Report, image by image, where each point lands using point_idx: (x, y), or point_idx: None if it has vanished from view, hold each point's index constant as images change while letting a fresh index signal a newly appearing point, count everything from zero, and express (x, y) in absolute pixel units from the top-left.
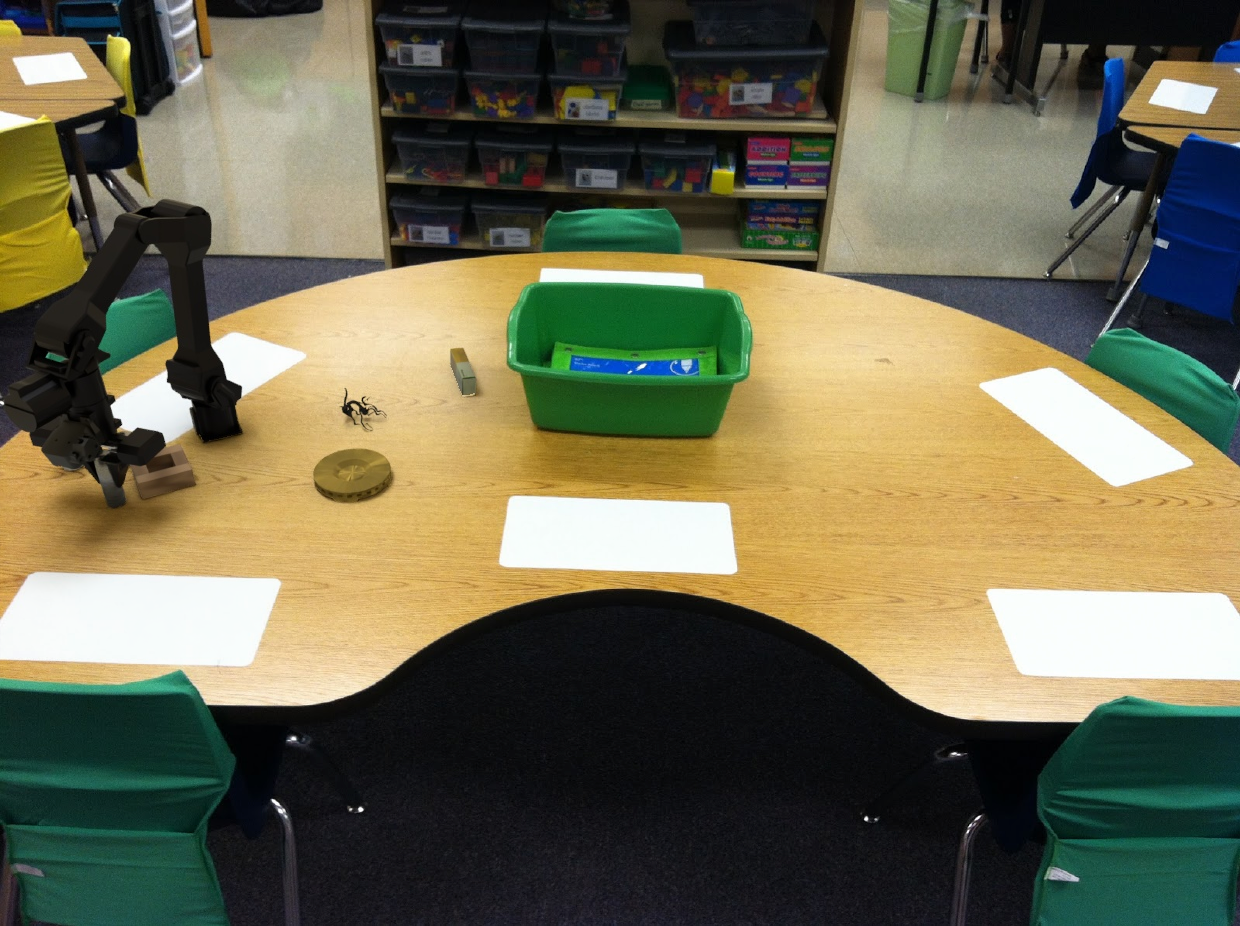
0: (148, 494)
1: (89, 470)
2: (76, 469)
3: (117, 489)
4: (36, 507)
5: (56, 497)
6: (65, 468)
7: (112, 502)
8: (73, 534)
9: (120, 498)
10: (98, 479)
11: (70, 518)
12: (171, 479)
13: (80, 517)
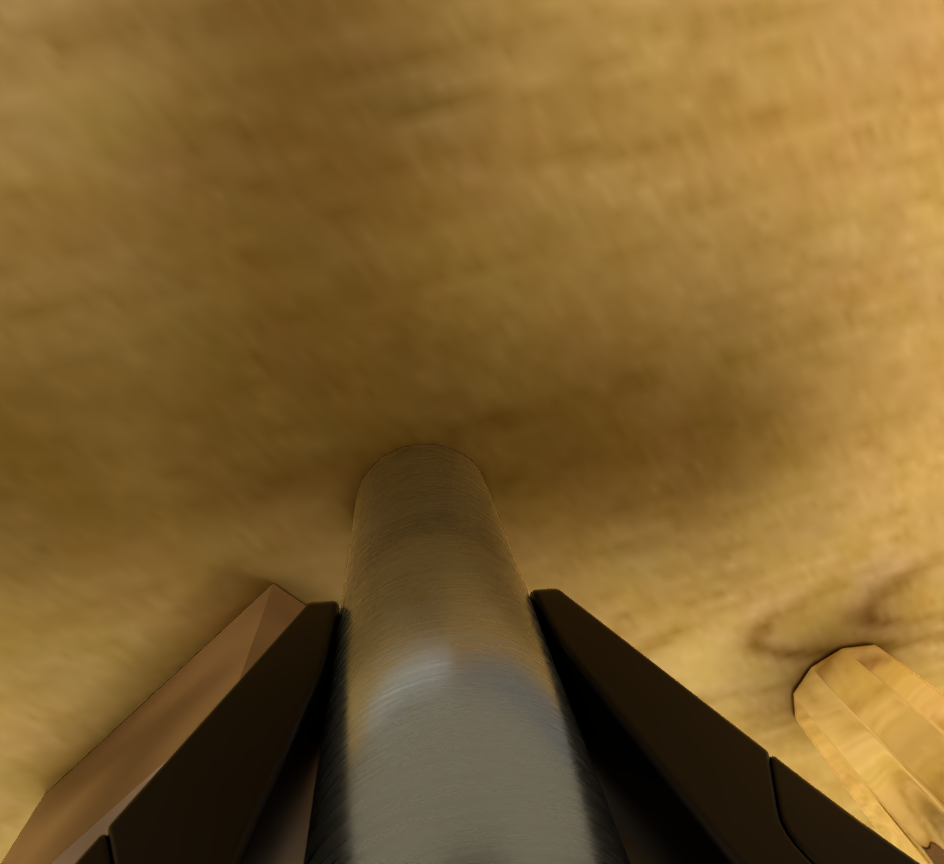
0: (232, 631)
1: (690, 725)
2: (815, 667)
3: (345, 581)
4: (924, 303)
5: (833, 434)
6: (876, 655)
7: (401, 470)
8: (511, 30)
9: (355, 523)
10: (554, 628)
11: (645, 247)
12: (73, 814)
13: (578, 279)
